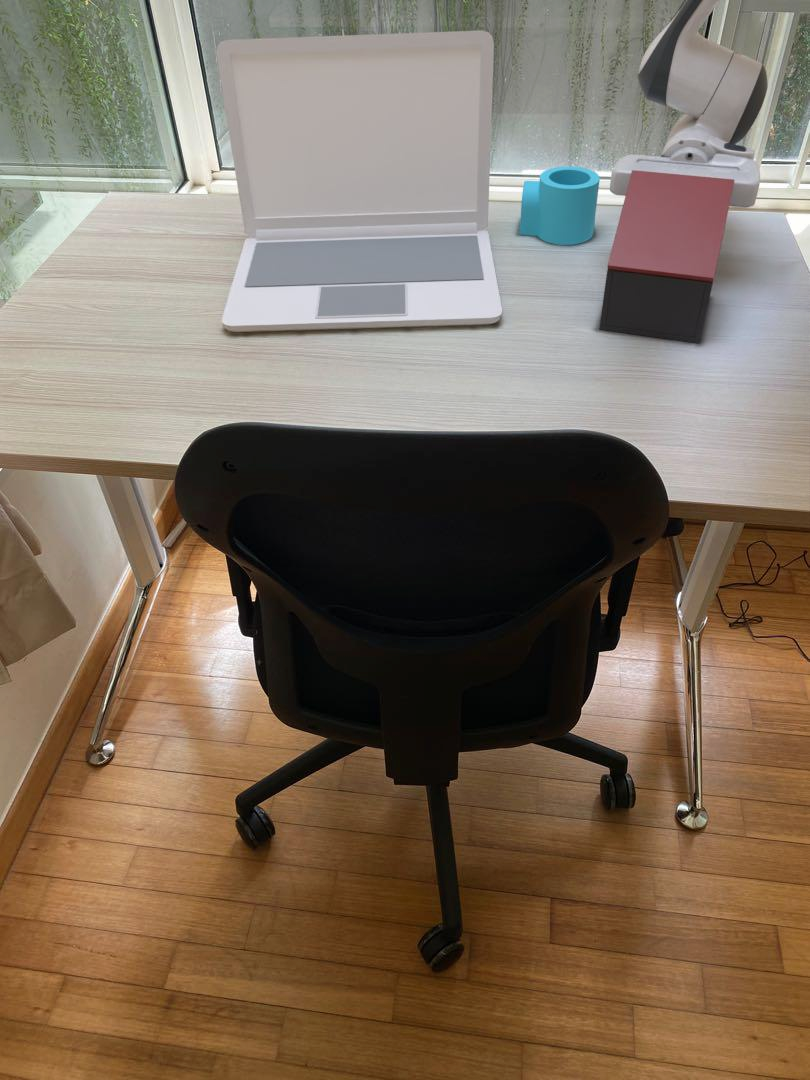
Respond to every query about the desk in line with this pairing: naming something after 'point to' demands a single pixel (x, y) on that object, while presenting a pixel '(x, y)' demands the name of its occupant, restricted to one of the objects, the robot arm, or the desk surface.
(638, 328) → the dark grey box
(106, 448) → the desk surface
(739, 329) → the desk surface
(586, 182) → the cup
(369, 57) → the laptop
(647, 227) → the lid
